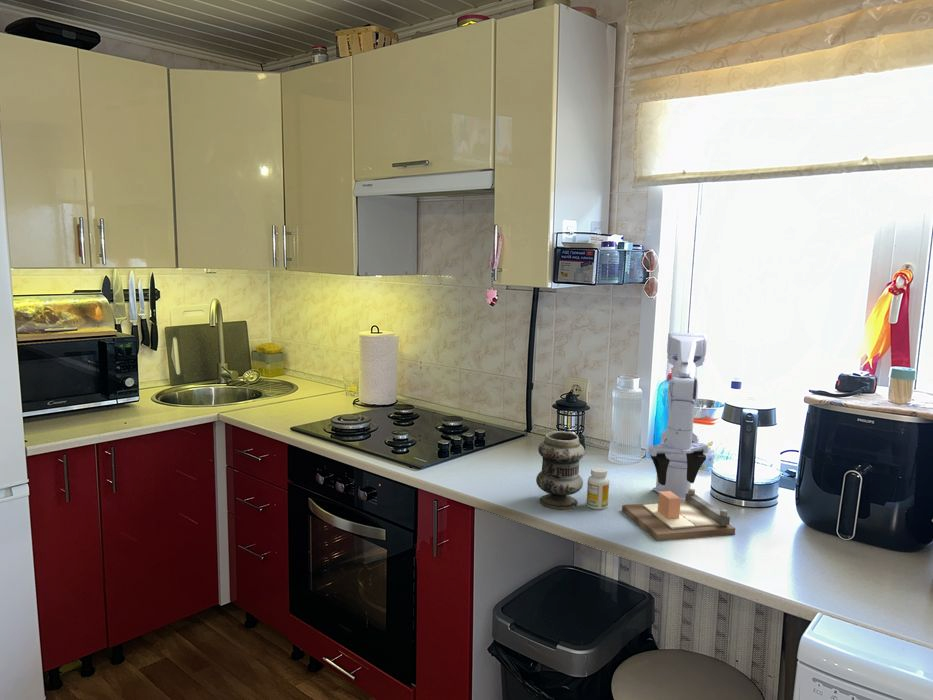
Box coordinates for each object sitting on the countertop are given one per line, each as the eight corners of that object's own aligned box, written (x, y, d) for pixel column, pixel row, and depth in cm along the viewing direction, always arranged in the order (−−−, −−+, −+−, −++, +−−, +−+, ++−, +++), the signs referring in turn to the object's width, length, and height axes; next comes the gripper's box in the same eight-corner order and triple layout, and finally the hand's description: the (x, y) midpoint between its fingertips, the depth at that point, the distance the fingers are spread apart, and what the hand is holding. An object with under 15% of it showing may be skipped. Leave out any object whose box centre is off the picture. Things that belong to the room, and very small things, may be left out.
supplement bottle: (605, 502, 178) (607, 466, 177) (610, 510, 173) (612, 473, 171) (584, 501, 178) (586, 466, 177) (588, 509, 173) (590, 472, 171)
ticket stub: (643, 506, 172) (644, 485, 171) (664, 504, 173) (666, 484, 172) (671, 528, 158) (673, 506, 157) (695, 527, 159) (696, 505, 159)
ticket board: (621, 510, 173) (623, 491, 172) (693, 505, 177) (694, 486, 176) (657, 540, 155) (658, 519, 155) (734, 534, 160) (736, 513, 159)
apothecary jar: (570, 515, 169) (573, 444, 166) (527, 504, 175) (529, 436, 173) (589, 500, 179) (592, 433, 176) (547, 490, 185) (550, 426, 183)
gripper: (661, 433, 156) (657, 490, 158) (717, 431, 159) (712, 486, 161) (645, 425, 163) (642, 480, 165) (700, 423, 166) (696, 476, 168)
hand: (676, 482), depth 164 cm, fingers open, 7 cm apart
